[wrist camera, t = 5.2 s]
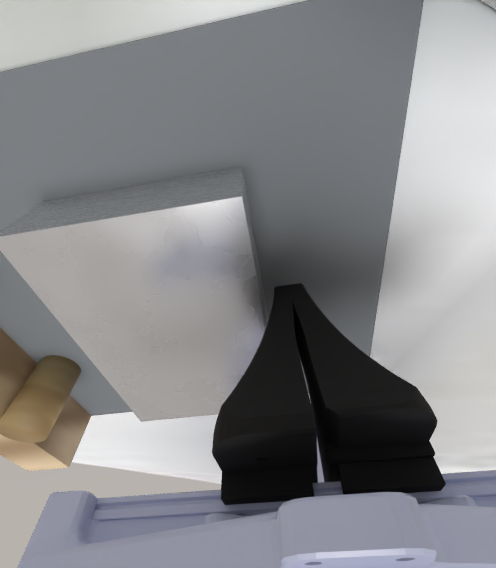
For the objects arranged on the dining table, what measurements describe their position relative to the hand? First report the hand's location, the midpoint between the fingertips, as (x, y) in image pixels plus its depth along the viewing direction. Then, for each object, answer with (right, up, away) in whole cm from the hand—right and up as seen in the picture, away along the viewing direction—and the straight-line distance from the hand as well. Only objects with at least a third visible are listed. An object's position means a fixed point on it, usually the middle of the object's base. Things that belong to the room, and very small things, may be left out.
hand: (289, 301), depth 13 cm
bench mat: (-8, 0, +2) cm, 9 cm away
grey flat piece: (-5, 0, +1) cm, 5 cm away
